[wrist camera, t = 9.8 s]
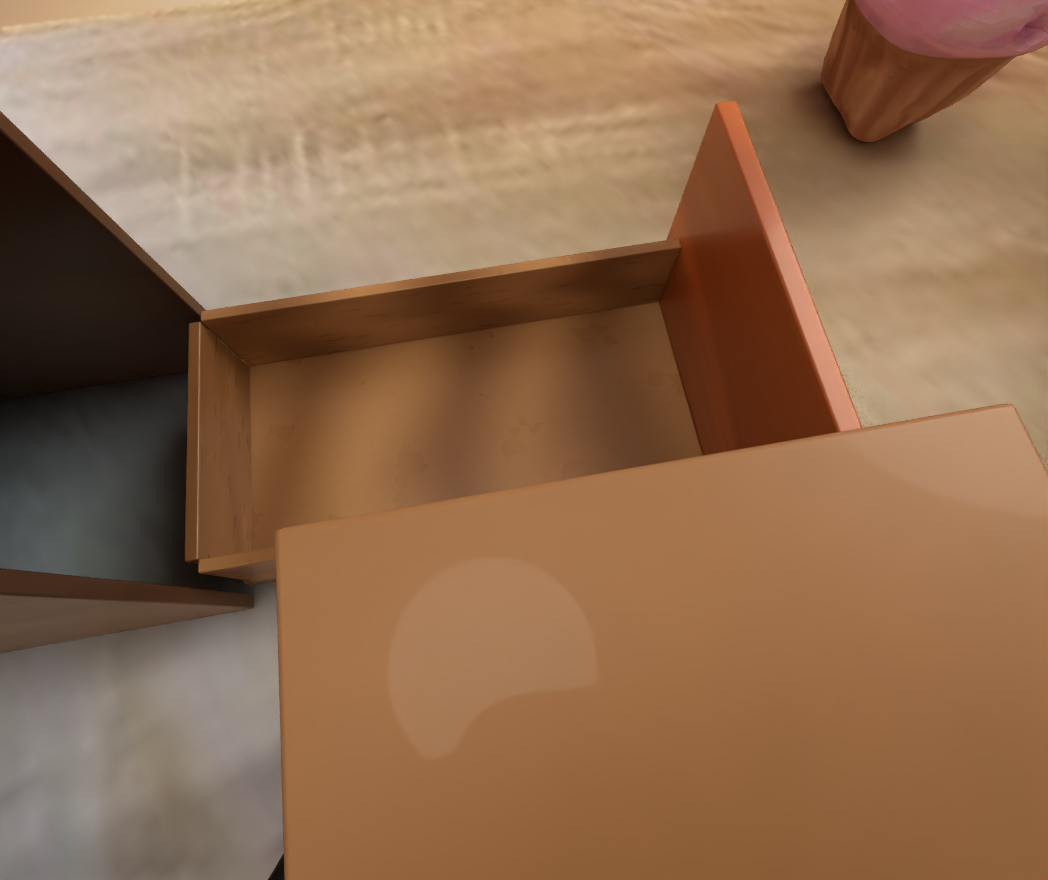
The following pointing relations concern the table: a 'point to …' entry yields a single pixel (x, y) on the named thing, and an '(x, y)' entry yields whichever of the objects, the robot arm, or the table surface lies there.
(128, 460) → the table surface
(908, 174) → the table surface
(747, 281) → the drawer
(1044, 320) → the table surface
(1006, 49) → the cupcake
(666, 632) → the long rectangular block
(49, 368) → the brown cupboard
